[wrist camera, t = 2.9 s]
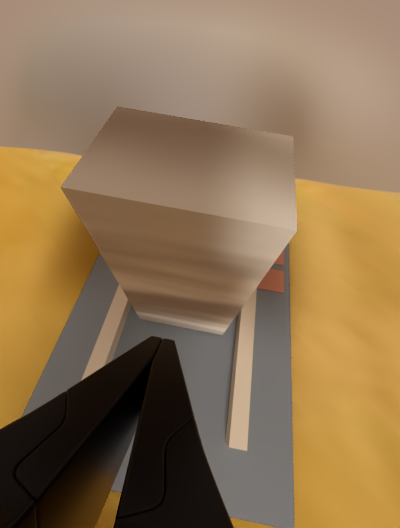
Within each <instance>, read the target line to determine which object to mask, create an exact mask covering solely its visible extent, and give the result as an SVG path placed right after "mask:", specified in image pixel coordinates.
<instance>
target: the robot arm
mask: <svg viewBox="0 0 400 528" xmlns="http://www.w3.org/2000/svg"><path fill="white" fill-rule="evenodd" d="M194 418H195V417H194V413H193V409H192V405H191V401H190V397H189V393H188V390H187V386H186V382H185V378H184V374H183V370H182V367H181V363H180V359H179V355H178V351H177V347H176V344H175V341H174V340H171V339H166V338H164V339H162V338H161V337H156V336H150V337H149V338H147V339H145V340H144V341H142V342H141V343H139V344H138V345H136V346H134V347H133V348H131V349H130V350H128V351H127V352H125V353H123V354H122V355H120V356H119V357H117V358H116V359H114V360H113V361H111V362H109V363H108V364H106V365H105V366H103V367H102V368H100V369H98V370H97V371H95V372H94V373H92V374H91V375H89V376H87V377H86V378H84V379H83V380H81V381H80V382H78V383H77V384H75V385H73V386H72V387H70V388H69V389H67V391H66V392H65V391H64V392H62V393H61V394H59V395H58V396H56V397H54V398H53V399H51V400H50V401H48V402H46V403H45V404H43V405H41V406H40V407H38V408H37V409H35V410H33V411H32V412H30V413H28V414H27V415H25V416H23V417H21V418H19V419H18V420H16V421H14V422H12V423H11V424H9V425H7V426H5V427H3V428H2V429H0V528H95V525H96V523H97V521H98V518H99V516H100V514H101V511H102V509H103V506H104V504H105V502H106V499H107V497H108V495H109V492H110V490H111V488H112V485H113V483H114V481H115V478H116V476H117V474H118V471H119V469H120V467H121V464H122V462H123V460H124V457H125V455H126V453H127V450H128V448H129V446H130V443H131V441H132V439H133V436H134V434H135V437H134V441H133V446H132V450H131V454H130V458H129V463H128V467H127V471H126V476H125V480H124V484H123V488H122V493H121V497H120V501H119V506H118V510H117V514H116V519H115V524H114V527H113V528H234V527H233V525H232V522H231V519H230V517H229V514H228V512H227V509H226V507H225V504H224V502H223V499H222V497H221V494H220V492H219V489H218V487H217V484H216V481H215V479H214V476H213V474H212V471H211V468H210V465H209V463H208V460H207V457H206V454H205V451H204V448H203V445H202V441H201V438H200V435H199V431H198V427H197V424H196V420H195V419H194ZM135 432H136V433H135Z"/></svg>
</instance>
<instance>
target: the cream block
mask: <svg viewBox="0 0 400 528" xmlns="http://www.w3.org/2000/svg"><path fill="white" fill-rule="evenodd" d="M61 189H62V190H63V192H64V194H65V195H66V197H67V199H68V200H69V202H70V204H71V205H72V207H73V208H74V210H75V212H76V213H77V215H78V217H79V218H80V220H81V222H82V223H83V225H84V227H85V228H86V230H87V232H88V233H89V235H90V237H91V238H92V240H93V242H94V243H95V245H96V247H97V248H98V250H99V252H100V253H101V255H102V257H103V258H104V260H105V262H106V263H107V265H108V267H109V268H110V270H111V272H112V273H113V275H114V277H115V278H116V280H117V282H118V283H119V285H120V287H121V288H122V290H123V292H124V293H125V295H126V297H127V298H128V300H129V302H130V303H131V305H132V307H133V308H134V310H135V312H136V313H137V315H138V317H139V318H140V319H143V320H148V321H153V322H158V323H163V324H168V325H173V326H178V327H183V328H188V329H194V330H199V331H204V332H209V333H214V334H219V335H223V334H224V332H225V331H226V329H227V328H228V327H229V325H230V324H231V322H232V321H233V320H234V318H235V317H236V315H237V314H238V313H239V311H240V310H241V308H242V307H243V306H244V304H245V303H246V301H247V300H248V299H249V297H250V296H251V294H252V293H253V292H254V290H255V289H256V287H257V286H258V285H259V283H260V282H261V280H262V279H263V278H264V276H265V275H266V273H267V272H268V271H269V269H270V268H271V266H272V265H273V264H274V262H275V261H276V259H277V258H278V257H279V255H280V254H281V252H282V251H283V250H284V248H285V247H286V245H287V244H288V243H289V241H290V240H291V238H292V237H293V236H294V234H295V233H296V231H297V214H296V192H295V172H294V148H293V136H287V135H281V134H275V133H270V132H263V131H258V130H252V129H246V128H240V127H234V126H229V125H222V124H217V123H210V122H205V121H199V120H193V119H187V118H182V117H175V116H170V115H164V114H158V113H152V112H146V111H140V110H135V109H129V108H123V107H117V108H116V109H115V111H114V112H113V114H112V115H111V116H110V118H109V119H108V121H107V122H106V123H105V125H104V126H103V128H102V129H101V131H100V132H99V134H98V135H97V136H96V138H95V139H94V141H93V142H92V143H91V145H90V146H89V148H88V149H87V150H86V152H85V153H84V155H83V156H82V158H81V159H80V160H79V162H78V163H77V165H76V166H75V167H74V169H73V170H72V172H71V173H70V175H69V176H68V177H67V179H66V180H65V182H64V183H63V184H62V186H61Z"/></svg>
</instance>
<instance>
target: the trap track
mask: <svg viewBox="0 0 400 528" xmlns="http://www.w3.org/2000/svg"><path fill="white" fill-rule="evenodd" d="M150 336H156V337H161V338H162V339H164V338H166V339H171V340H174V341H175V344H176V347H177V351H178V355H179V359H180V363H181V367H182V370H183V374H184V378H185V382H186V386H187V390H188V393H189V397H190V401H191V405H192V409H193V413H194V417H195V418H194V419H195V420H196V424H197V427H198V431H199V435H200V438H201V441H202V445H203V448H204V451H205V454H206V457H207V460H208V463H209V465H210V468H211V471H212V474H213V476H214V479H215V481H216V484H217V487H218V489H219V492H220V494H221V497H222V499H223V502H224V504H225V507H226V509H227V512H228V514H229V517H233V518H237V519H242V520H246V521H251V522H255V523H259V524H264V525H268V526H273V527H277V528H294V481H293V432H292V382H291V333H290V283H289V243H288V244H287V245H286V247H285V248H284V250H283V251H282V252H281V254H280V255H279V257H278V258H277V259H276V261H275V262H274V264H273V265H272V266H271V268H270V269H269V271H268V272H267V273H266V275H265V276H264V278H263V279H262V280H261V282H260V283H259V285H258V286H257V287H256V289H255V290H254V292H253V293H252V294H251V296H250V297H249V299H248V300H247V301H246V303H245V304H244V306H243V307H242V308H241V310H240V311H239V313H238V314H237V315H236V317H235V318H234V320H233V321H232V322H231V324H230V325H229V327H228V328H227V329H226V331H225V332H224V334H223V335H219V334H214V333H209V332H204V331H199V330H194V329H188V328H183V327H178V326H173V325H168V324H163V323H158V322H153V321H148V320H143V319H140V318H139V317H138V315H137V313H136V312H135V310H134V308H133V307H132V305H131V303H130V302H129V300H128V298H127V297H126V295H125V293H124V292H123V290H122V288H121V287H120V285H119V283H118V282H117V280H116V278H115V277H114V275H113V273H112V272H111V270H110V268H109V267H108V265H107V263H106V262H105V260H104V258H103V257H102V255H101V253H100V254H99V256H98V258H97V260H96V262H95V264H94V266H93V268H92V271H91V273H90V275H89V277H88V279H87V281H86V283H85V285H84V287H83V289H82V291H81V294H80V296H79V298H78V300H77V302H76V304H75V306H74V308H73V310H72V312H71V314H70V317H69V319H68V321H67V323H66V325H65V327H64V329H63V331H62V333H61V335H60V337H59V340H58V342H57V344H56V346H55V348H54V350H53V352H52V354H51V356H50V358H49V360H48V363H47V365H46V367H45V369H44V371H43V373H42V375H41V377H40V379H39V381H38V383H37V386H36V388H35V390H34V392H33V394H32V396H31V398H30V400H29V402H28V404H27V406H26V409H25V411H24V413H23V415H22V417H23V416H25V415H27V414H28V413H30V412H32V411H33V410H35V409H37V408H38V407H40V406H41V405H43V404H45V403H46V402H48V401H50V400H51V399H53V398H54V397H56V396H58V395H59V394H61V393H62V392H64V391H65V392H66V391H67V389H69V388H70V387H72V386H73V385H75V384H77V383H78V382H80V381H81V380H83V379H84V378H86V377H87V376H89V375H91V374H92V373H94V372H95V371H97V370H98V369H100V368H102V367H103V366H105V365H106V364H108V363H109V362H111V361H113V360H114V359H116V358H117V357H119V356H120V355H122V354H123V353H125V352H127V351H128V350H130V349H131V348H133V347H134V346H136V345H138V344H139V343H141V342H142V341H144V340H145V339H147V338H149V337H150ZM135 433H136V432H135ZM134 437H135V434H134V436H133V439H132V441H131V443H130V446H129V448H128V450H127V453H126V455H125V457H124V460H123V462H122V464H121V467H120V469H119V471H118V474H117V476H116V478H115V481H114V483H113V485H112V488H111V490H112V491H117V492H121V493H122V488H123V484H124V480H125V476H126V471H127V467H128V463H129V458H130V454H131V450H132V446H133V441H134Z"/></svg>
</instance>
